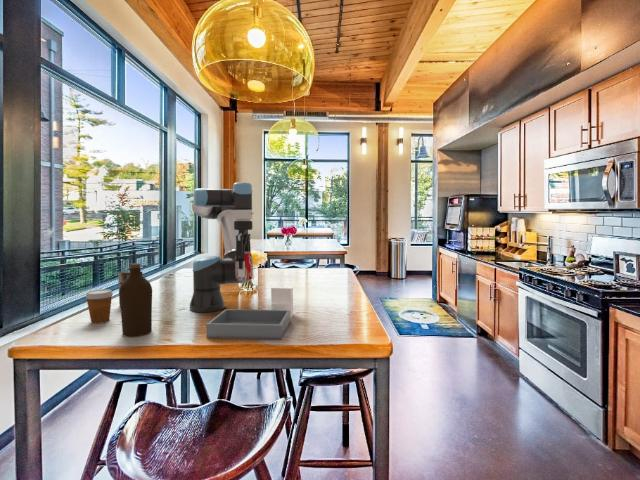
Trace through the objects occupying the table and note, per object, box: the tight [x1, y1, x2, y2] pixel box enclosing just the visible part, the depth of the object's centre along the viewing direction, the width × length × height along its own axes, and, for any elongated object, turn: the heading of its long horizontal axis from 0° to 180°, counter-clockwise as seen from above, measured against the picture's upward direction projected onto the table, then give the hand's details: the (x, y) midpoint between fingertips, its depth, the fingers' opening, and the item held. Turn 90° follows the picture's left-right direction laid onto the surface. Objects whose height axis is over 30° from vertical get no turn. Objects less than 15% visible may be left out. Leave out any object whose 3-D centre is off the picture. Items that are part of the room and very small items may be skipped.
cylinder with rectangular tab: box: [270, 286, 294, 319], centre depth 156 cm, size 9×9×12 cm
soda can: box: [235, 251, 254, 283], centre depth 156 cm, size 7×7×12 cm
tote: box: [205, 308, 291, 341], centre depth 137 cm, size 26×20×5 cm
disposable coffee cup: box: [84, 288, 114, 324], centre depth 148 cm, size 10×10×12 cm
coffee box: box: [117, 270, 144, 305], centre depth 173 cm, size 9×6×16 cm
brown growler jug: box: [118, 262, 153, 338], centre depth 133 cm, size 11×11×25 cm
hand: (244, 275), depth 156 cm, fingers closed on soda can, 7 cm apart
